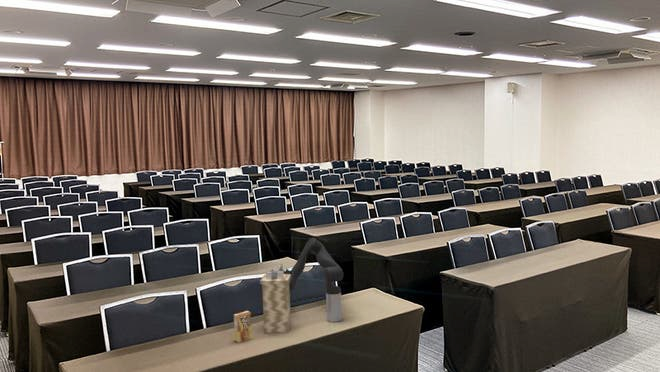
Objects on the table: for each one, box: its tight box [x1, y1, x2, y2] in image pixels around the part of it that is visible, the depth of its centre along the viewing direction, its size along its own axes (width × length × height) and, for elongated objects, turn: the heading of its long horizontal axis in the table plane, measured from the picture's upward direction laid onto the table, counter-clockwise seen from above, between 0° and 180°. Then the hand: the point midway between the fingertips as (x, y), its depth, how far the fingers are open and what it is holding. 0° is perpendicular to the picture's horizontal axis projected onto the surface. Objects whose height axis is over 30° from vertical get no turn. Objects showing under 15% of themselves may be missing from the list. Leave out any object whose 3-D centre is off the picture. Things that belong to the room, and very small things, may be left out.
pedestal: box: [259, 274, 292, 334], centre depth 299 cm, size 16×14×31 cm
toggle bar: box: [265, 263, 284, 279], centre depth 304 cm, size 20×10×4 cm, turn 177°
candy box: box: [233, 310, 253, 343], centre depth 285 cm, size 9×4×15 cm, turn 129°
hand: (279, 270), depth 313 cm, fingers open, 8 cm apart
